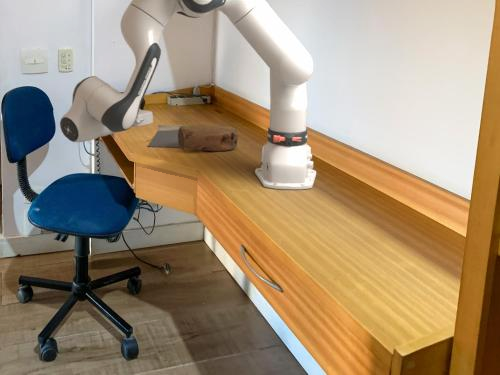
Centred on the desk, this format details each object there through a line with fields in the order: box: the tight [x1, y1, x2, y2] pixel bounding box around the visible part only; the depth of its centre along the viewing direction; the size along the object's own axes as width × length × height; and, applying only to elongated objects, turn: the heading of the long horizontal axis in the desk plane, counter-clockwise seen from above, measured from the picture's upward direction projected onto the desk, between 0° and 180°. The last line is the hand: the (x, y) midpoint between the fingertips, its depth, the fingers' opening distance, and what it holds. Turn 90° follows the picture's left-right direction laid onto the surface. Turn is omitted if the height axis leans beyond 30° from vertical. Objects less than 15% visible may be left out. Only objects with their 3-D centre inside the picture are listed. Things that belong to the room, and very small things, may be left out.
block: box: [178, 124, 239, 152], centre depth 209 cm, size 11×8×20 cm
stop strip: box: [157, 124, 188, 131], centre depth 235 cm, size 2×18×2 cm, turn 90°
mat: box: [147, 130, 182, 149], centre depth 222 cm, size 24×18×1 cm
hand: (137, 111), depth 187 cm, fingers closed
